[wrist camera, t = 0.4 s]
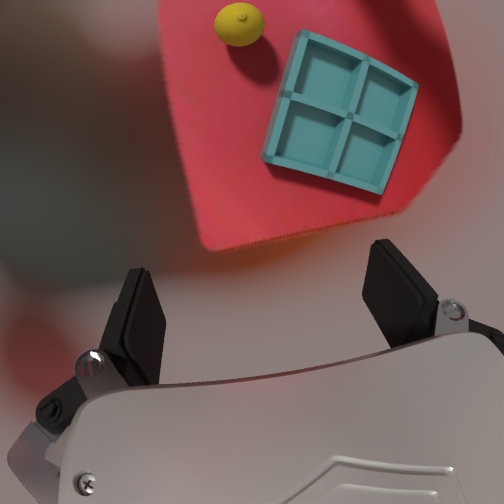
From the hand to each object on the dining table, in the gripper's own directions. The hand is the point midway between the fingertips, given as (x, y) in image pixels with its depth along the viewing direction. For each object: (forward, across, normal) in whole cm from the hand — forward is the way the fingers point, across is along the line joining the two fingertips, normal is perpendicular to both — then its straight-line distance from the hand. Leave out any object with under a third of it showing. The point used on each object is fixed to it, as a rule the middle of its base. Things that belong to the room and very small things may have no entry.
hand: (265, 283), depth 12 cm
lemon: (+28, -2, -16) cm, 33 cm away
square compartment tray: (+28, -15, -4) cm, 32 cm away
